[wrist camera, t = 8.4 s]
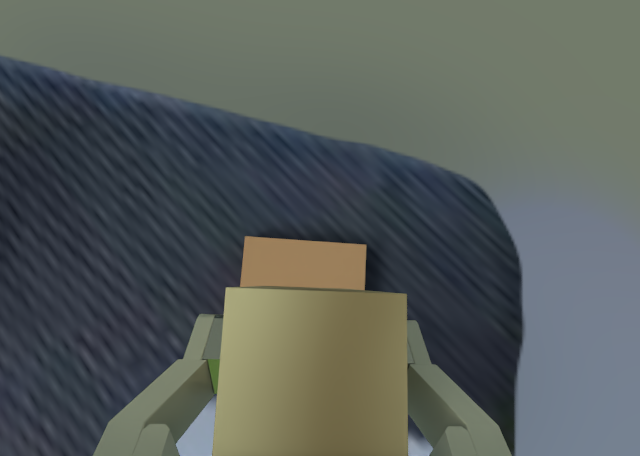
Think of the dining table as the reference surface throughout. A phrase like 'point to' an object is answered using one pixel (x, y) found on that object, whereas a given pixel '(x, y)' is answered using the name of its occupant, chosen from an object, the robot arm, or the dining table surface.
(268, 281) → the tile
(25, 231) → the dining table surface
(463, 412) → the robot arm
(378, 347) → the post
